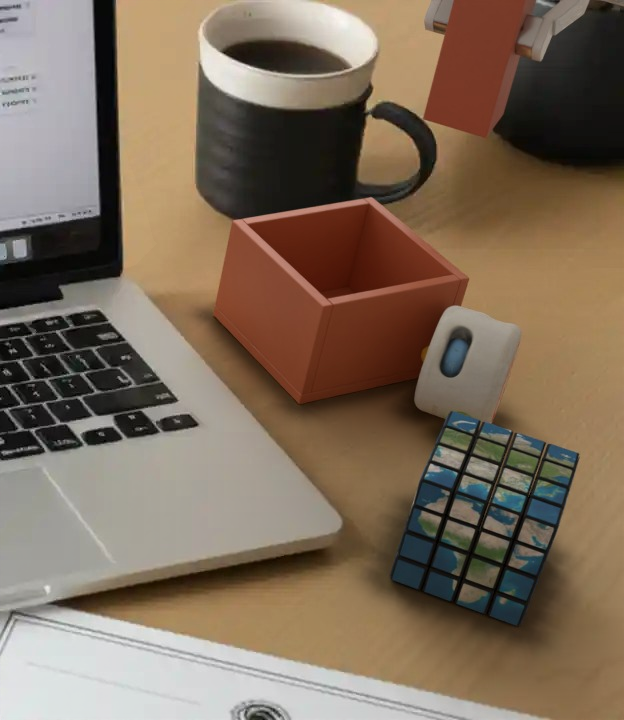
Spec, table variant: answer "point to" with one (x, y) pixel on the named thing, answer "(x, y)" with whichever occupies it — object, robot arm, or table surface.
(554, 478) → the puzzle
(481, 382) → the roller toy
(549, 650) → the table surface
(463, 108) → the terracotta block
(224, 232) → the table surface
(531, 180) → the table surface
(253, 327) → the terracotta bin
